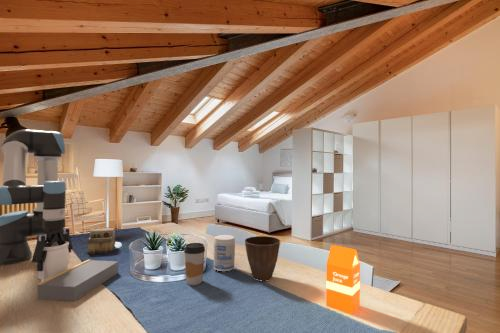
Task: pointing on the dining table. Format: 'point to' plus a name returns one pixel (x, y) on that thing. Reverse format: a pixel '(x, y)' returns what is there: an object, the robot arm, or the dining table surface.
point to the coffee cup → (194, 263)
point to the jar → (56, 259)
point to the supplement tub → (224, 252)
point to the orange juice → (343, 279)
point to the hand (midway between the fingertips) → (53, 273)
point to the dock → (77, 280)
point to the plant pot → (262, 256)
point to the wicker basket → (101, 240)
